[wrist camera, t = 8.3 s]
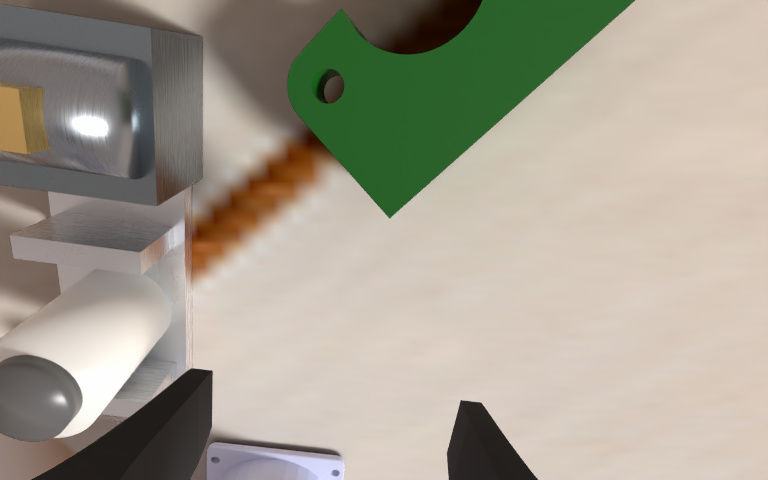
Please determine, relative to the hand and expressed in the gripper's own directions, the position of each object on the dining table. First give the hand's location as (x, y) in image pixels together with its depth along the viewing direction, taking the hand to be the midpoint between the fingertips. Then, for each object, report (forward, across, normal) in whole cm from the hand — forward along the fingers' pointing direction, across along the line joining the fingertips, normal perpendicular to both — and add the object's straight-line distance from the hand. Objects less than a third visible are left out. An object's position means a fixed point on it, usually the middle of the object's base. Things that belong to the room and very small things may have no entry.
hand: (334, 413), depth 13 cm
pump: (+9, +11, +3) cm, 15 cm away
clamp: (+10, -3, -10) cm, 15 cm away
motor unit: (+10, +11, -1) cm, 15 cm away
